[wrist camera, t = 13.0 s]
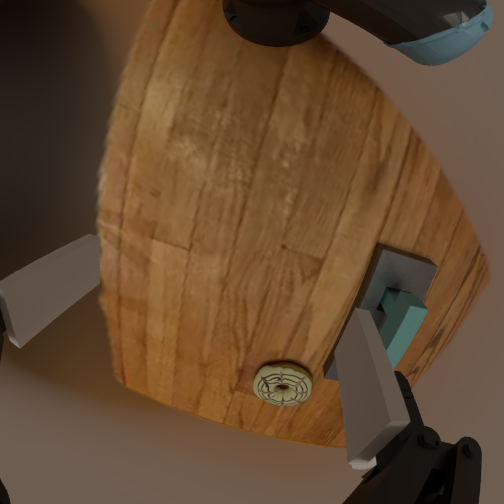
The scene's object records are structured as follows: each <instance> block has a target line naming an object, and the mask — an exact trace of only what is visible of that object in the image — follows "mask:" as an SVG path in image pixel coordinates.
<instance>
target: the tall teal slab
mask: <svg viewBox="0 0 504 504" xmlns="http://www.w3.org/2000/svg"><path fill="white" fill-rule="evenodd" d="M380 303H381V305H382V307H383V309H384V311H385V313H386V314H387V316H388V318H387V320H386V322H385V324H384V326H383V328H382V330H381V332H380V334H379V335H380V337H381V340H382V342H383V345H384V347H385V350H386V352H387V355H388V358H389V360H390V363H391V365H392V368H393V370H394V369H395V367H396V365H397V364H398V362H399V361H400V359H401V358H402V356H403V354H404V353H405V351H406V349H407V348H408V346H409V344H410V343H411V341H412V339H413V338H414V336H415V334H416V332H417V330H418V329H419V327H420V325H421V323H422V321H423V319H424V317H425V316H426V314H427V312H428V309H427V307H426V306H425V305H424V303H423V302H422V301H421V300H420V298H419V297H418V296H417V295H414V294H410V293H406V292H402V291H401V290H398V289H395V288H391V287H386V289H385V291H384V293H383V296H382V298H381V300H380Z"/></svg>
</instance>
